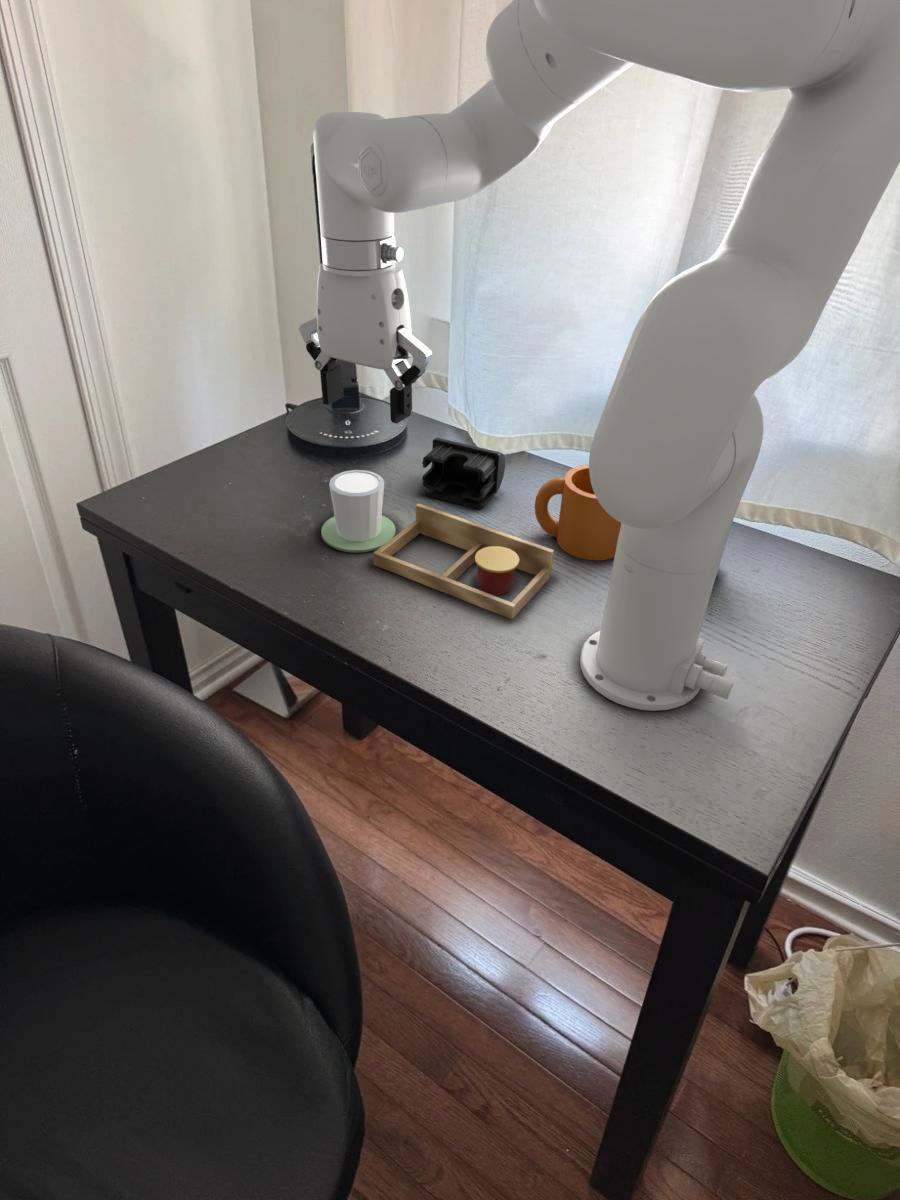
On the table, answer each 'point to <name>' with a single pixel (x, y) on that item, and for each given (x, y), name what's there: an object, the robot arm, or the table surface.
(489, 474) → the end cap
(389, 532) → the coaster
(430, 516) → the pod caddy
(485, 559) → the coffee pod
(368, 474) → the shot glass
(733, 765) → the table surface
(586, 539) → the mug
